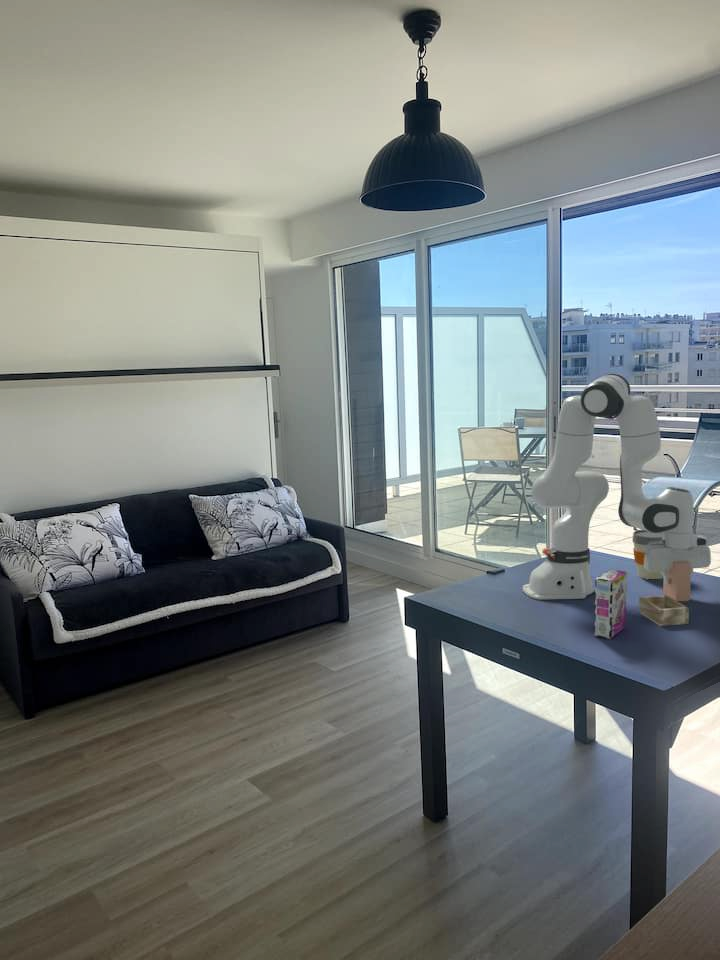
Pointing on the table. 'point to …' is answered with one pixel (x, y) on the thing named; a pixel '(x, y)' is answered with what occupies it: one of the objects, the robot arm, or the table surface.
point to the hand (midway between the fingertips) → (676, 582)
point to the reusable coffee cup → (640, 542)
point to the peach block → (679, 581)
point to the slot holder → (663, 610)
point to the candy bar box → (610, 603)
